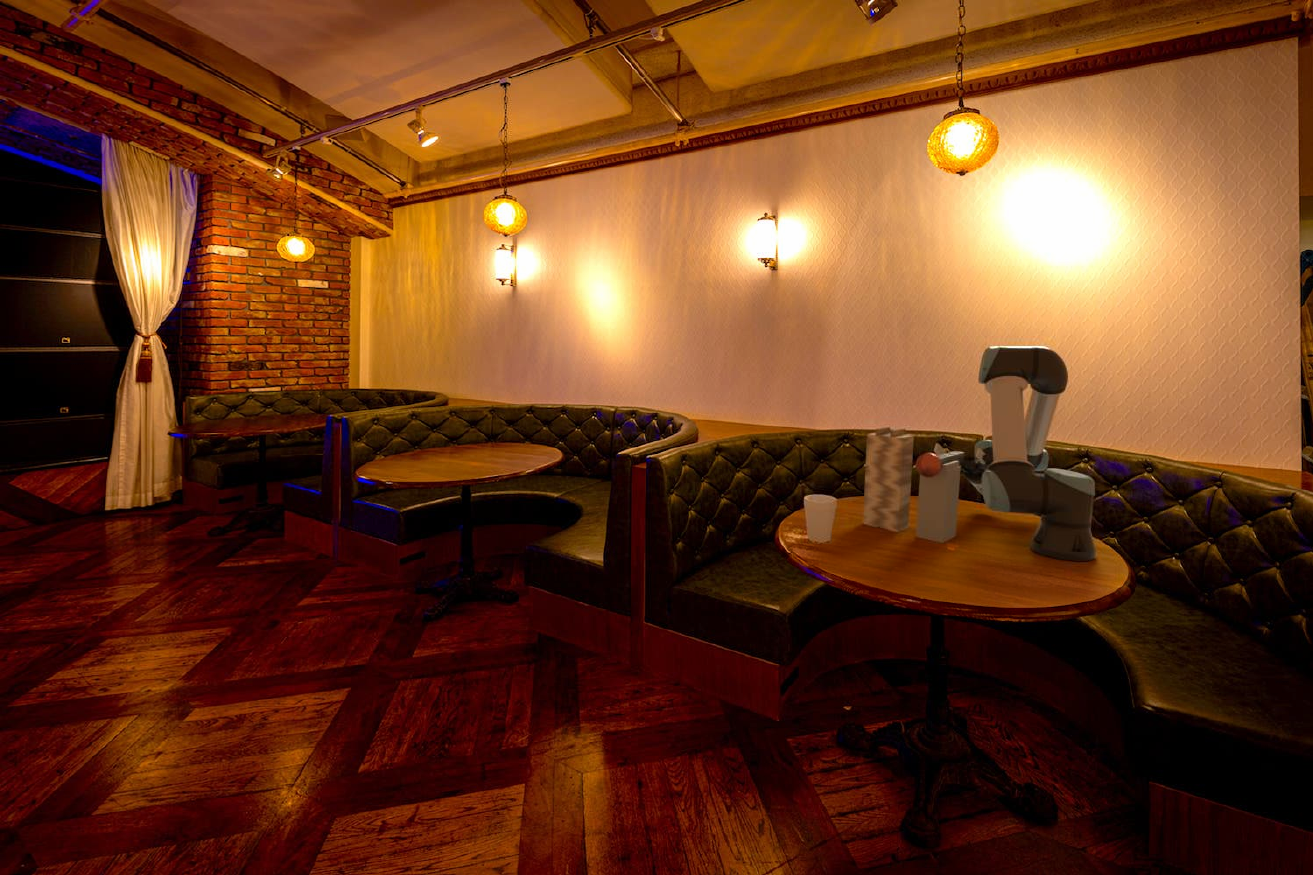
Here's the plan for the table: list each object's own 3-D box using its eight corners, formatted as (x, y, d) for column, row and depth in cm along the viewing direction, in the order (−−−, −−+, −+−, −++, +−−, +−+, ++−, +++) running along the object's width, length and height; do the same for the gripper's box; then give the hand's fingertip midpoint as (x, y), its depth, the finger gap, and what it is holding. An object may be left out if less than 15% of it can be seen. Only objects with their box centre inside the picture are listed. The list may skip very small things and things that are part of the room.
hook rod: (970, 468, 185) (971, 446, 184) (938, 479, 172) (940, 455, 170) (947, 465, 191) (948, 444, 190) (915, 475, 177) (916, 452, 176)
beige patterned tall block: (908, 527, 192) (914, 429, 187) (897, 532, 187) (903, 431, 182) (873, 519, 201) (878, 426, 196) (862, 523, 196) (867, 428, 191)
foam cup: (838, 545, 175) (840, 502, 173) (807, 545, 176) (808, 502, 174) (829, 535, 185) (831, 494, 183) (800, 535, 185) (801, 494, 183)
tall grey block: (955, 536, 183) (961, 461, 179) (942, 543, 177) (947, 465, 173) (929, 530, 189) (934, 457, 185) (916, 536, 183) (920, 461, 179)
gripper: (1015, 490, 191) (995, 466, 177) (939, 478, 209) (915, 455, 196) (1021, 469, 192) (1001, 443, 179) (945, 458, 211) (921, 434, 197)
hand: (956, 449), depth 187 cm, fingers open, 12 cm apart
